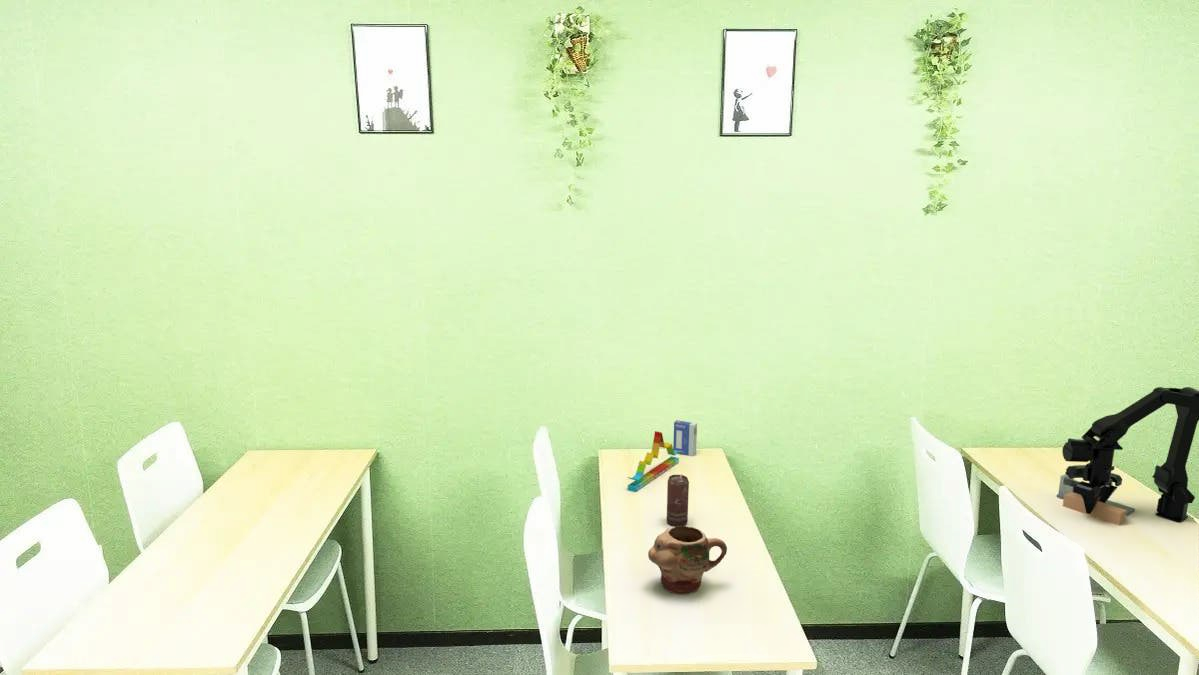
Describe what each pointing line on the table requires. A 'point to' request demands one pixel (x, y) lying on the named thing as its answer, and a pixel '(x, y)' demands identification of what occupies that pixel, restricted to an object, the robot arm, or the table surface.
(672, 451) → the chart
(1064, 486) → the bracket
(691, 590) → the brown sculpted mug
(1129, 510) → the board
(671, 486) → the can
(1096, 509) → the rail
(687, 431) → the walkman
